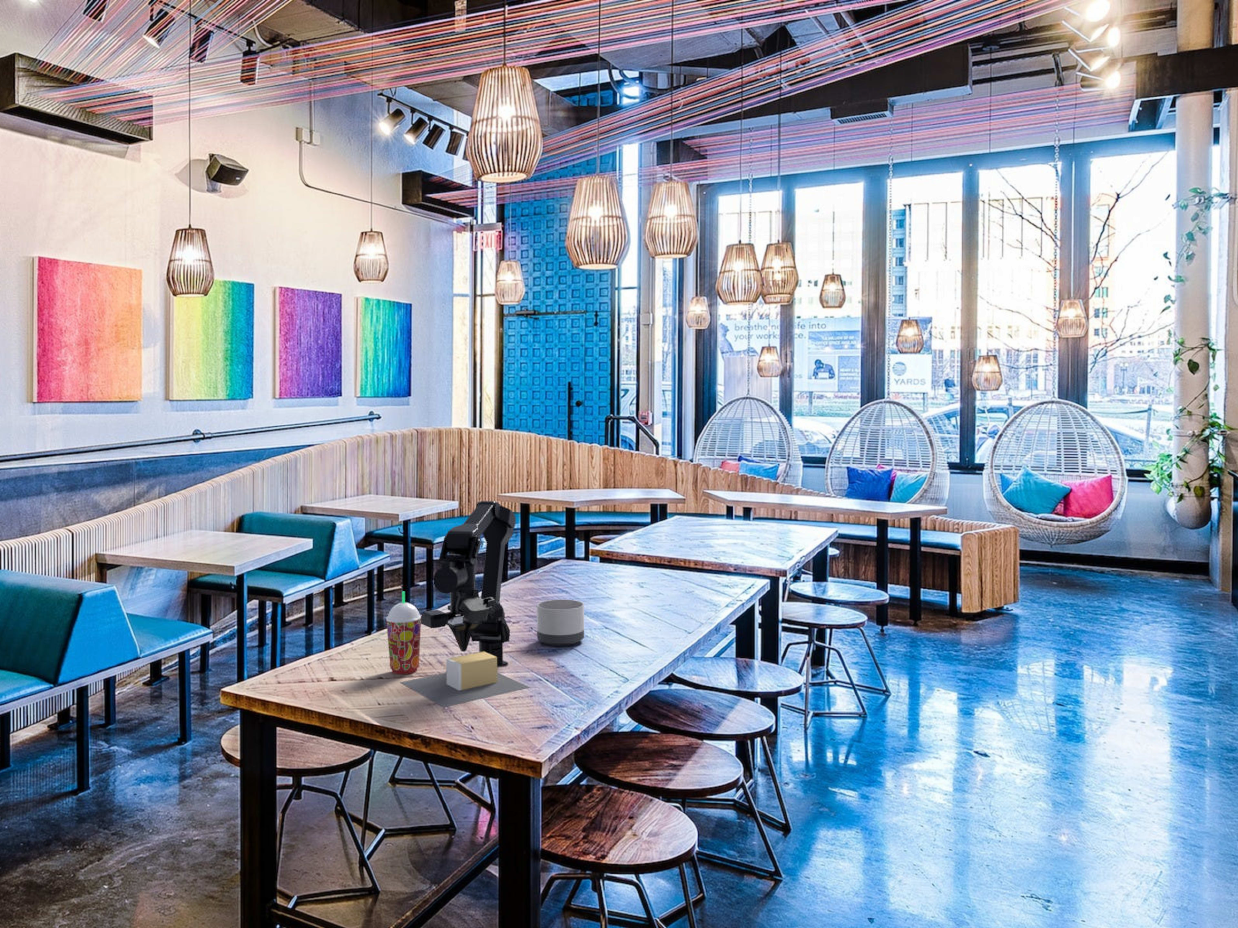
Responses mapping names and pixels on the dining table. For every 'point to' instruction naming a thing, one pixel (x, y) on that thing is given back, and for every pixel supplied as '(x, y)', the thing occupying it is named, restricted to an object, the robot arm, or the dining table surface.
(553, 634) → the planter
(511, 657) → the dining table surface
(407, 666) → the smoothie
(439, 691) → the charcoal mat
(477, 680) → the pale yellow block
